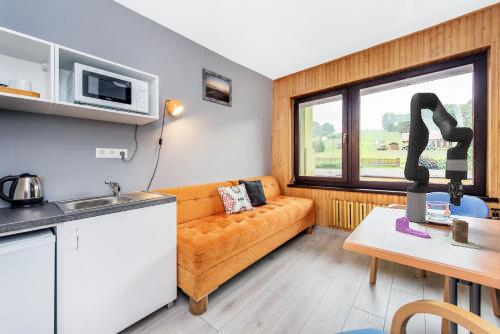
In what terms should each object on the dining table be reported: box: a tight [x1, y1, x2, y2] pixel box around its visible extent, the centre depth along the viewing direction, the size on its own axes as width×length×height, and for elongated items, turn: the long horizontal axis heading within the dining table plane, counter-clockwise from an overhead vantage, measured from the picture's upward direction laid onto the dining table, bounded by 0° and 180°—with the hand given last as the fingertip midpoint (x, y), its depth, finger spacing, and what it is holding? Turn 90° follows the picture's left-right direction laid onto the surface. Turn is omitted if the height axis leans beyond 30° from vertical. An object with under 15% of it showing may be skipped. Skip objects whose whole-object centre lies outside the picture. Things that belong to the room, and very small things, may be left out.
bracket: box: [395, 216, 430, 239], centre depth 104 cm, size 13×6×7 cm, turn 30°
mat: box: [443, 236, 481, 250], centre depth 92 cm, size 9×10×1 cm
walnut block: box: [451, 219, 469, 244], centre depth 93 cm, size 4×4×9 cm
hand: (454, 204), depth 100 cm, fingers open, 4 cm apart
